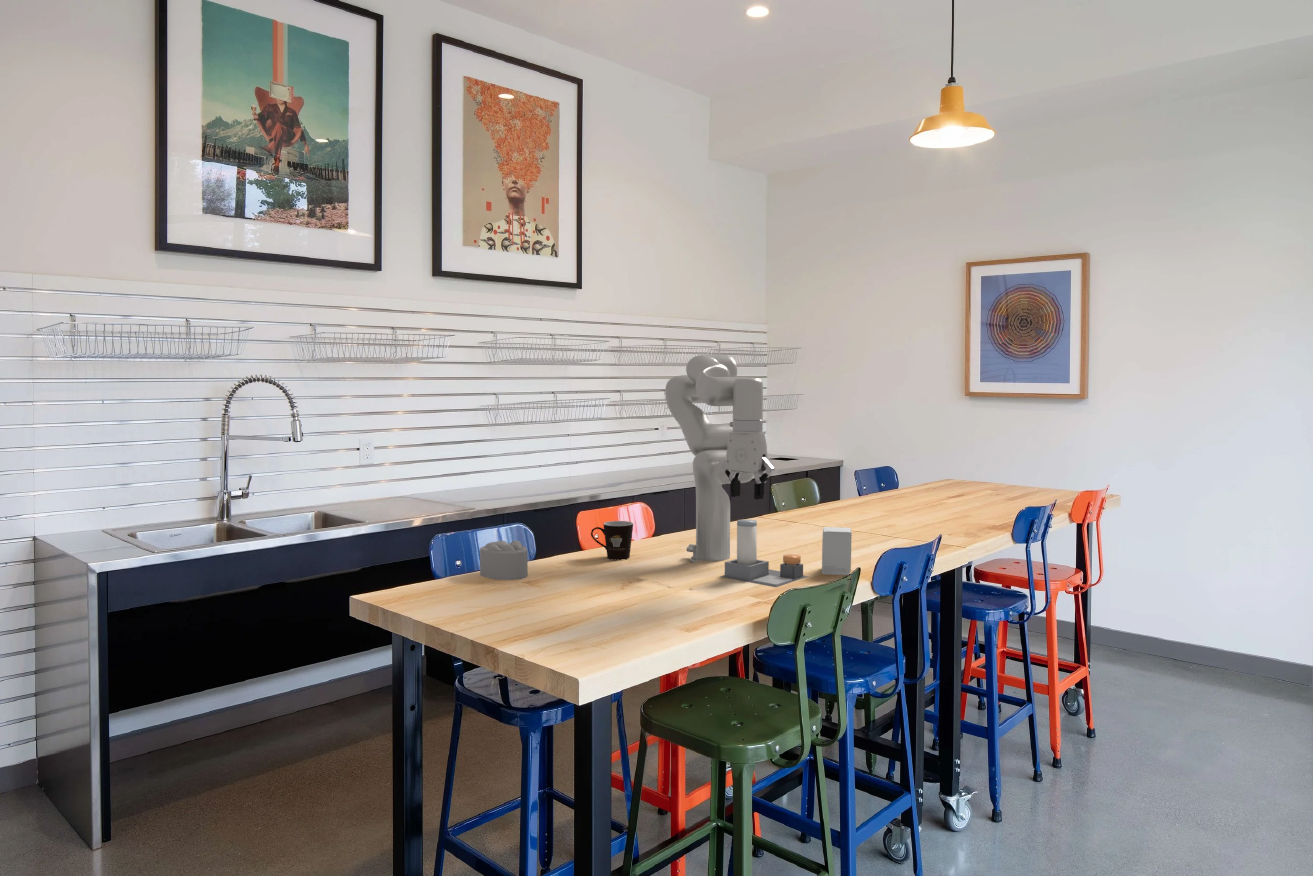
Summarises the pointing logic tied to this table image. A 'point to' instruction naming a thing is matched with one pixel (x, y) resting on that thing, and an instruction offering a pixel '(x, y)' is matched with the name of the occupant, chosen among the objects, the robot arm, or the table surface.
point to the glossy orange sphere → (791, 559)
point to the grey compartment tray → (763, 573)
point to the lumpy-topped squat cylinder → (504, 561)
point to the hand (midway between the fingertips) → (747, 497)
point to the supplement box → (836, 551)
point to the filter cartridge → (747, 542)
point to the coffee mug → (616, 539)
